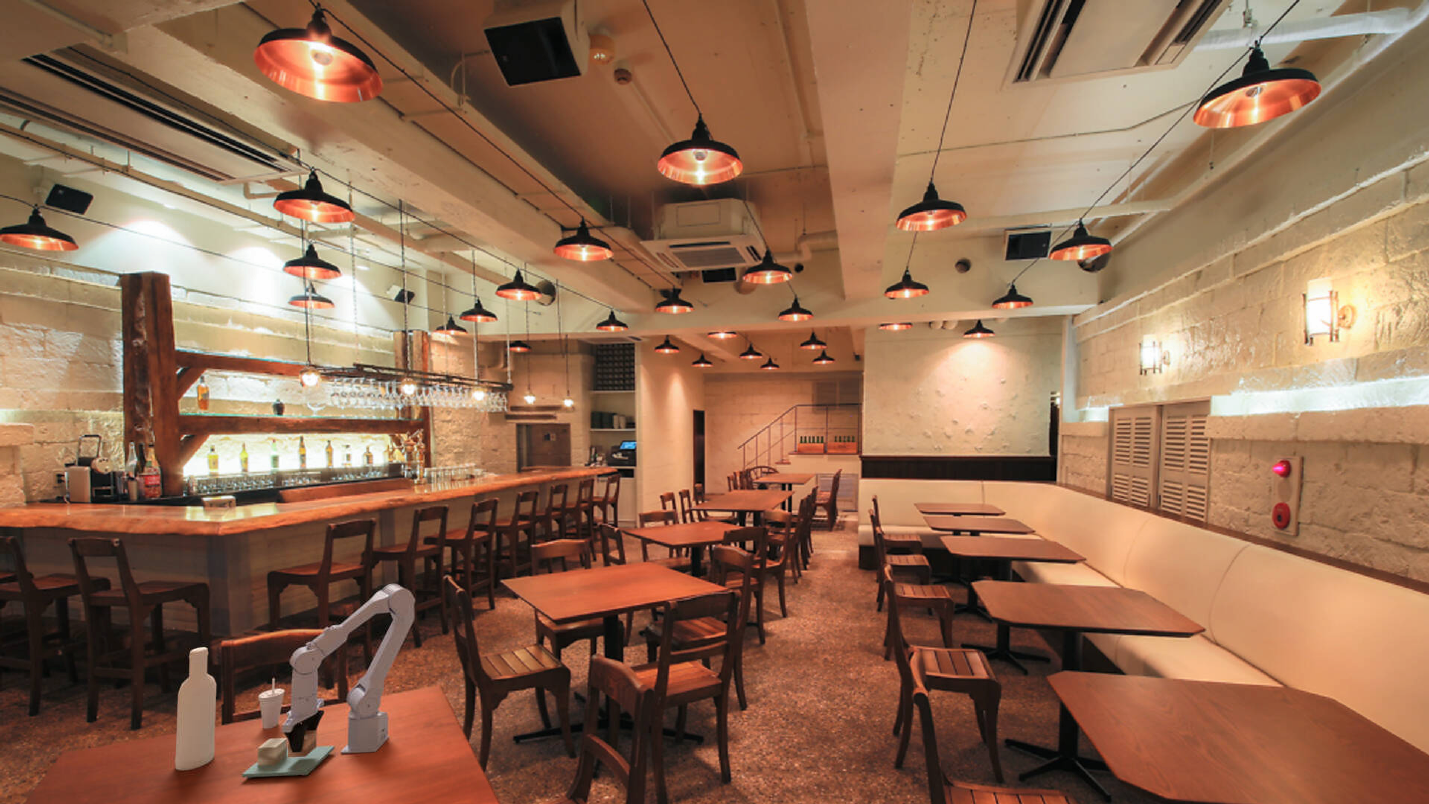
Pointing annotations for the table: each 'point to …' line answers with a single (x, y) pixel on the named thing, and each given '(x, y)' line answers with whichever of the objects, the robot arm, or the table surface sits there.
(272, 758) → the cream block
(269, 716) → the smoothie
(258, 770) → the teal board
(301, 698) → the robot arm
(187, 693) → the bottle
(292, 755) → the brown block
